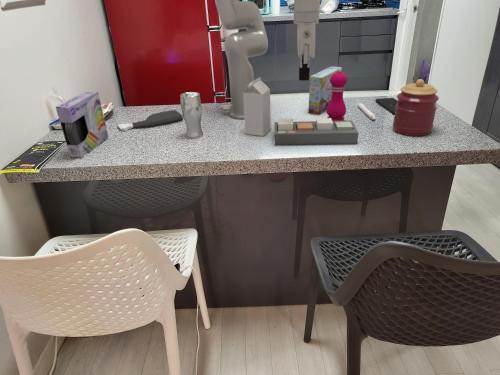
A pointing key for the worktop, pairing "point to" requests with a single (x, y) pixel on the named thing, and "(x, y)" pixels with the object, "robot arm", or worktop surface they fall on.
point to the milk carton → (257, 108)
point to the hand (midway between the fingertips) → (303, 79)
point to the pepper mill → (337, 96)
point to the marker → (366, 111)
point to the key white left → (285, 124)
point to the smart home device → (388, 104)
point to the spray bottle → (154, 120)
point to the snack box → (320, 90)
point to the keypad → (315, 136)
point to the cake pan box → (82, 123)
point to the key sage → (343, 125)
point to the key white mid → (324, 124)
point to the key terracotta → (304, 126)
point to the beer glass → (192, 113)
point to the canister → (415, 109)
